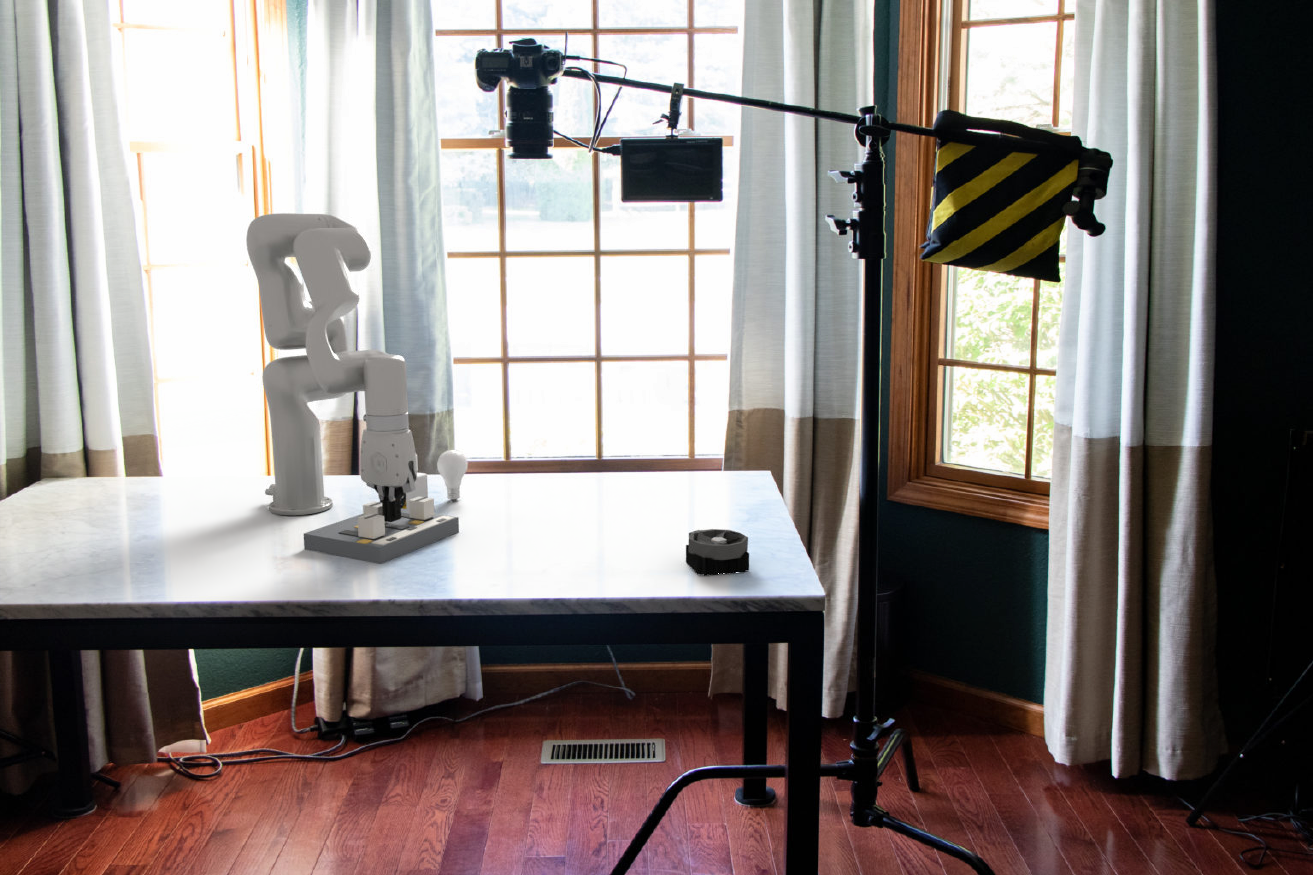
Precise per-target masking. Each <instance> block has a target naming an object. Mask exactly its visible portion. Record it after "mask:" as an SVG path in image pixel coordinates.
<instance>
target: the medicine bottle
mask: <svg viewBox="0 0 1313 875" xmlns="http://www.w3.org/2000/svg"><path fill="white" fill-rule="evenodd" d="M416 461H417V462H418V454H417V453H416ZM418 468H419V467H418V464H417V479H416V481H415V482H414V484H415V488H416V489H415V491H412V492H408V493H405V494H404V496H403V498H401V499H400V501H401V508H402V509H409V500H410V499H413V498H416V497H419V496H420V497H428V498H429V492H428V490H429V488H428V474H427V473H424V472H418V470H419V469H418ZM404 486H405V484H404ZM396 489H397V488H396ZM379 502H382V500H380V499H379Z"/></svg>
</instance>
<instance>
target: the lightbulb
mask: <svg viewBox="0 0 1313 875" xmlns="http://www.w3.org/2000/svg"><path fill="white" fill-rule="evenodd" d="M436 464H437V465H436V466H437V470H438V473H439V474H440V476H441V477H442V478H443V481H444V486H445V487H446V491H447V492H446V493H447V495H446V496H447V499H448V500H449V501H453V502H455V501H457V500H458V499H460V498H461V496H460V495H461V492H460V487H461V485H462V480H463V478H464V476H465V474H466V472H467V470H468V465H469V463H468V460H467V457H466V456H465V455H464V453H463V452H461V451H459V450H456V449H450V450H446V451H444V452H442V453H441V454H440V456H439V457H438V459H437V463H436Z"/></svg>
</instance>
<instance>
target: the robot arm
mask: <svg viewBox="0 0 1313 875" xmlns="http://www.w3.org/2000/svg"><path fill="white" fill-rule="evenodd" d="M370 246H371V245H370V244H369V241H368V239H367V237H366V236H365V235H364V234H363V232H362V231H361V230H360V229H358V228H357V227H356V226H354V225H352V224H350V223H348V222H346V221H344V220H342V219H340V218H338V217H336V216H333V215H331V214H327V213H290V212H289V213H285V212H284V213H283V212H282V213H268V214H263V215H260V216H257V217H255V218H254V219H253V220H252V221H251V222H250V224H249V226H248V227H247V231H246V249H247V253H248V256H249V257H248V258H249V259H250V264H251V266H252V268H253V271H254V273H255V276H256V279H257V282H258V289H259V290H258V291H259V298H260V307H261V313H262V320H263V329H264V335H265V339H266V341H267V343H268V345H269V346H271V348H273V349H275V350H281V351H282V350H283V351H292V350H302V349H304V350H305V352H306V354H305V355H304V354H303V355H295V356H294V355H293V356H284V357H280V358H277V359H274V360H272V361H269V363H268V364H266V366H265V367H264V369H263V372H262V376H261V377H262V385H263V389H264V392H265V396H266V397H265V398H266V400H267V405H268V411H269V417H270V429H271V440H272V441H271V442H272V456H273V458H272V459H273V470H274V471H273V472H274V482H275V483H272V484H270V485H269V486H268V487H269V488H265V490H264V494H265V495H266V496H272V501H271V502H270V503H269V504H268V511H269V512H271V513H272V514H274V515H281V516H306V515H312V514H317V513H321V512H325V511H327V510H329V509H331V508H332V507H333V505H334V504H333V499H331V498H330V497H328V496H325V486H324V472H323V471H324V469H323V455H322V437H321V425H320V421H319V419H318V417H317V415H316V414H315V413H314V411H312V410H311V408H310V407H309V405H308V403H311V402H317V401H323V400H324V401H326V400H334V399H338V398H341V397H343V396H345V395H346V394H351V393H357V392H364V404H365V408H364V410H365V414H364V415H363V417H362V418H363V419H362V420H363V421H364V422H365V423H366V428H365V429H363V431H362V435H361V441H360V442H361V444H360V454H359V455H360V456H359V459H360V460H359V462H360V465H359V466H360V467H359V472H360V479H361V481H362V482H364V483H365V484H366V486H367V487H369V488H371V489H373V490H374V491H375V492H376V493H377V495H378V499H379V501H380V500H382V509H383V516H384V521H385V522H387V521H388V522H393V521H396V520H399V519H401V501H400V499H401V498H403V496H404V494H405V493H408V492H412V491H415V489H416V488H415V484H414V482H415V481H416V479H417V473H418V471H417V465H418V460H417V461H416V454H417V453H416V447H415V442H414V441H415V440H414V438H413V432H412V430H411V429H410V427H409V426H410V422H409V405H408V404H409V403H408V382H407V380H408V379H407V378H408V377H407V362H406V360H405V358H404V357H403V356H402V355H398V354H391V353H390V354H389V353H387V352H385V351H383V350H380V349H367V350H365V349H364V350H351V351H349V350H348V349H349V348H348V338H347V331H346V325H345V320H344V316H345V315H348V314H349V313H351V312H352V311H353V310H354V309H356V308H357V306H358V304H359V302H360V295H359V292H358V289H357V288H356V284H355V282H354V280H353V277H352V274H351V272H361V271H364V270H365V269H367V268H368V267H369V265H370V262H371V259H372V258H371V257H372V252H371V247H370ZM287 258H295V260H296V262H297V266H298V267H299V268H298V269H299V271H300V272H299V271H298V270H297V269H296V267H295V266H294V264H292V262H290V261H289V260H288V259H287ZM304 285H305V287H306V289H307V292H308V295H309V297H310V300H311V301H307V300H306V296H305V288H304ZM404 484H405V486H404ZM396 488H397V489H396Z"/></svg>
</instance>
